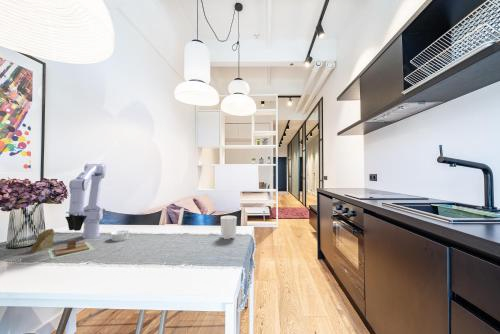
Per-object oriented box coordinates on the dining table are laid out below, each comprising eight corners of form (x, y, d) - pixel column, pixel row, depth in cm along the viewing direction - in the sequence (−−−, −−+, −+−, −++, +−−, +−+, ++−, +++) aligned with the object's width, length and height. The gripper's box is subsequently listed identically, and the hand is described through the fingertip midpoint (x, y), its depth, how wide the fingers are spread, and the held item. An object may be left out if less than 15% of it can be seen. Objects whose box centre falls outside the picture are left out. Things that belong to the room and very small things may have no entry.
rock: (33, 250, 99) (59, 241, 108) (26, 235, 100) (52, 227, 109) (27, 260, 103) (53, 251, 112) (20, 245, 105) (46, 237, 114)
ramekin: (108, 242, 118) (108, 234, 118) (114, 237, 126) (114, 230, 126) (126, 241, 120) (126, 233, 120) (130, 236, 129) (130, 229, 129)
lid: (53, 249, 105) (53, 240, 105) (83, 243, 114) (84, 234, 114) (56, 256, 97) (56, 245, 97) (89, 249, 106) (89, 239, 106)
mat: (47, 250, 105) (47, 249, 105) (87, 242, 117) (87, 242, 117) (51, 259, 94) (51, 259, 94) (94, 250, 106) (94, 249, 106)
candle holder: (217, 238, 125) (217, 218, 126) (224, 234, 135) (224, 215, 135) (233, 240, 123) (233, 219, 123) (238, 235, 132) (239, 216, 132)
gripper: (62, 203, 109) (59, 230, 107) (72, 202, 101) (69, 231, 99) (79, 203, 115) (76, 229, 113) (90, 201, 107) (87, 229, 105)
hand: (74, 230), depth 106 cm, fingers open, 7 cm apart
